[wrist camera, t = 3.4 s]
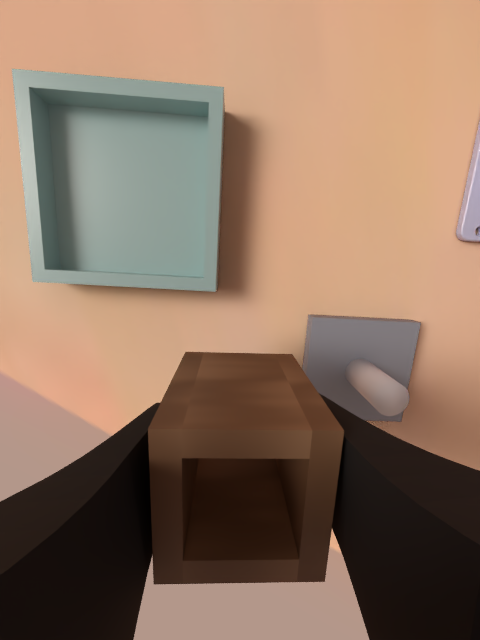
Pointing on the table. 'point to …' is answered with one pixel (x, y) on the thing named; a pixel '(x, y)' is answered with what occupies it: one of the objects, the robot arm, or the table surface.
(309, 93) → the table surface
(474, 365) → the table surface
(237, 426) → the walnut ring block
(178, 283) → the tray
